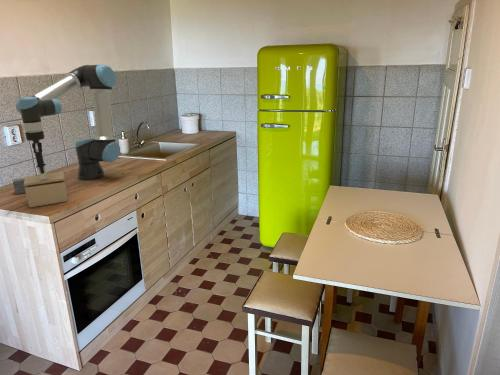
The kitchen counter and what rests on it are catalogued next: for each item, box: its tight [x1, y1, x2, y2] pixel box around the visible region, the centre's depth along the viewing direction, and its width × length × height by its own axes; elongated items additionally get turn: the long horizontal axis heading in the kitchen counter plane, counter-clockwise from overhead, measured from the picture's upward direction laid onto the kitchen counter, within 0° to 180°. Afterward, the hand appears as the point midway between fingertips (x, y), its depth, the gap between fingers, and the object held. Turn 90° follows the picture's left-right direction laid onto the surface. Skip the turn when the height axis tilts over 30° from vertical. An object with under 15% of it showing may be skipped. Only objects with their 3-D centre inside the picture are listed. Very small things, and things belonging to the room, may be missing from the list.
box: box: [25, 179, 69, 208], centre depth 189 cm, size 17×16×10 cm
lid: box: [24, 171, 65, 186], centre depth 187 cm, size 17×16×1 cm
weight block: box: [12, 177, 26, 195], centre depth 203 cm, size 8×5×7 cm, turn 117°
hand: (43, 179), depth 183 cm, fingers closed
